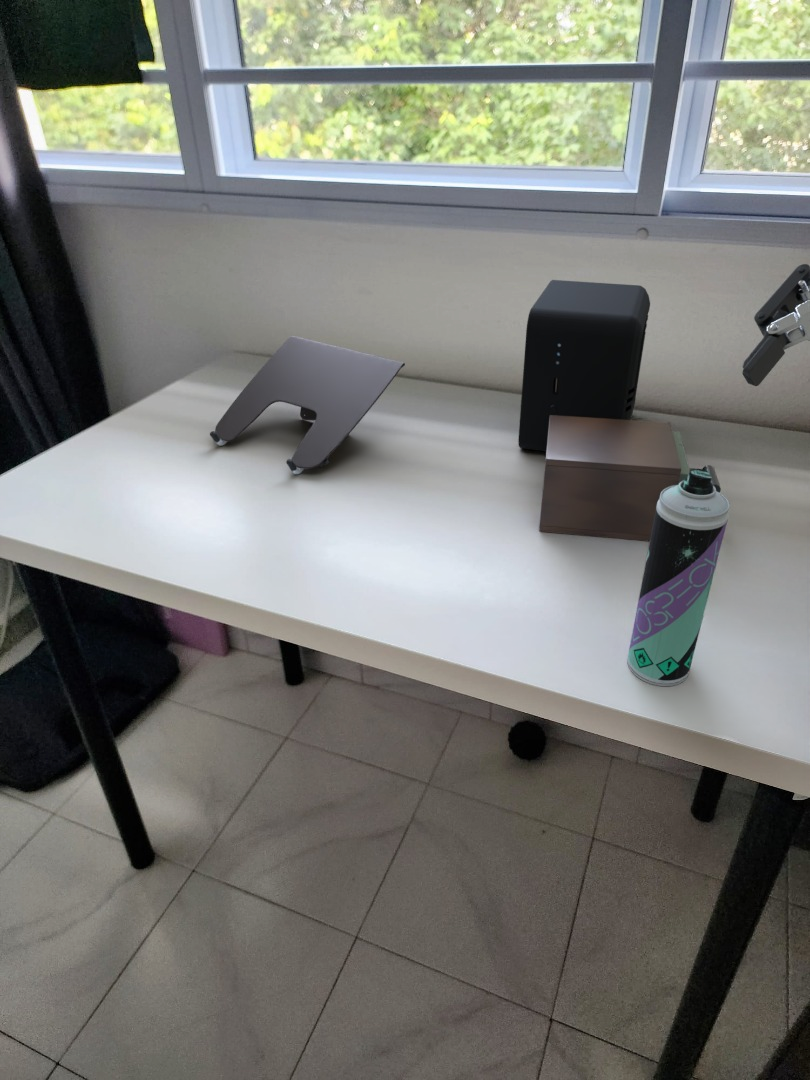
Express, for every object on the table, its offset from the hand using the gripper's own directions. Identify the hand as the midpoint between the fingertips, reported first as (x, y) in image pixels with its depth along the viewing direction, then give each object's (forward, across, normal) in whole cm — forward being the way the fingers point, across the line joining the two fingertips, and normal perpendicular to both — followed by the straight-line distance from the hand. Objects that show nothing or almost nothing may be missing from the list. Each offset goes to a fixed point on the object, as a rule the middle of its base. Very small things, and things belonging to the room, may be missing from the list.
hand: (792, 396), depth 59 cm
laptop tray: (+30, -64, +4) cm, 71 cm away
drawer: (+11, -22, +23) cm, 33 cm away
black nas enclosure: (+4, -44, +30) cm, 54 cm away
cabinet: (+13, -25, +21) cm, 35 cm away
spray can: (+24, 0, +11) cm, 26 cm away
